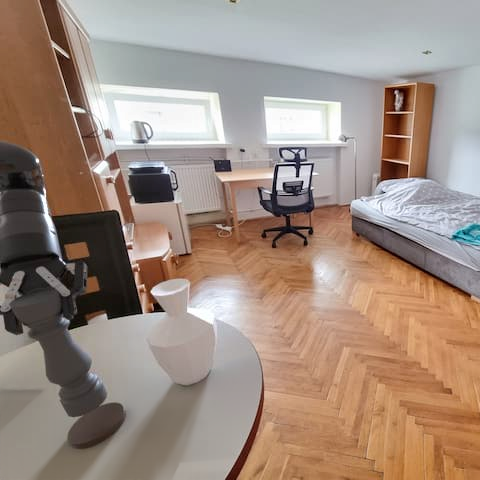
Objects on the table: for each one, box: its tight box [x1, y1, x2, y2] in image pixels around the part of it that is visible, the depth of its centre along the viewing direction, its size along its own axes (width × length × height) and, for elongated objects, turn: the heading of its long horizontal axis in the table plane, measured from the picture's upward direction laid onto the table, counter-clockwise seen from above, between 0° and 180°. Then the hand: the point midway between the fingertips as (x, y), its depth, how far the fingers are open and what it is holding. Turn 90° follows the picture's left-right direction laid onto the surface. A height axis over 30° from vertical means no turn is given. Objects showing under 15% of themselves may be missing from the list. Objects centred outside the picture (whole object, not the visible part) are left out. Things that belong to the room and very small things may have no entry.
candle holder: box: [9, 288, 108, 418], centre depth 53 cm, size 6×6×25 cm
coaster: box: [67, 401, 127, 450], centre depth 60 cm, size 9×9×2 cm
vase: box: [145, 278, 218, 386], centre depth 69 cm, size 14×14×25 cm
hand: (44, 325), depth 49 cm, fingers closed on candle holder, 5 cm apart
